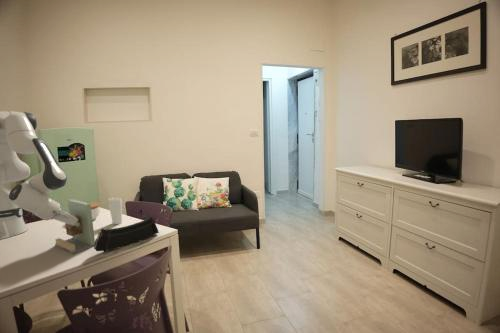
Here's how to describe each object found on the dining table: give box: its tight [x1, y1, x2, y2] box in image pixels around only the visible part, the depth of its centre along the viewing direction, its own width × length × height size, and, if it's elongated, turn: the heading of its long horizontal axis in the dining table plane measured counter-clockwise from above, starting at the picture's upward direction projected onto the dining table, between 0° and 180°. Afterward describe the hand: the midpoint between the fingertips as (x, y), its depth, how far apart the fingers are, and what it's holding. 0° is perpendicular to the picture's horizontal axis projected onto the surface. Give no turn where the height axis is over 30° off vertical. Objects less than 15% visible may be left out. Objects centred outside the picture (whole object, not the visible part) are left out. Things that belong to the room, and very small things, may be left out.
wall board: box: [54, 198, 96, 255], centre depth 135 cm, size 10×18×21 cm, turn 57°
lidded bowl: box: [86, 201, 101, 221], centre depth 174 cm, size 13×13×11 cm
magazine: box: [93, 216, 160, 254], centre depth 137 cm, size 17×3×30 cm
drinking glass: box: [108, 196, 123, 225], centre depth 166 cm, size 7×7×15 cm
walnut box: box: [64, 215, 83, 237], centre depth 135 cm, size 6×5×8 cm
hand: (75, 224), depth 136 cm, fingers closed on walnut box, 5 cm apart
